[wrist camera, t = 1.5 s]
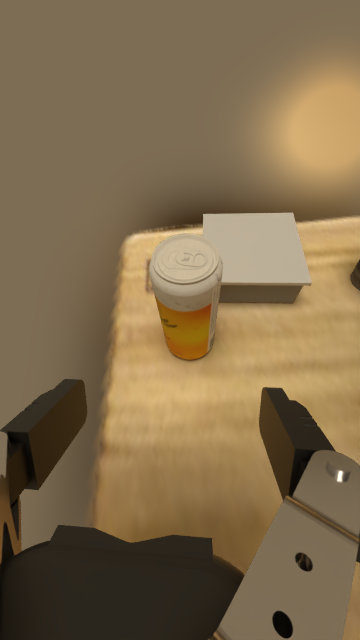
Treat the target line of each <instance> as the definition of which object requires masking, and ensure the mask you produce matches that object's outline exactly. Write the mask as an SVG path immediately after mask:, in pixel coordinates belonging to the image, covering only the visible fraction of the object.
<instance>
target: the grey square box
mask: <svg viewBox="0 0 360 640" xmlns="http://www.w3.org/2000/svg"><path fill="white" fill-rule="evenodd" d="M203 217H204V218H203V237H205V238H207V239H209V240H210V241H211V242H213V244H214V245H215V246H216V248H217V249H218V252H219V255H220V257H221V259H222V263H223V273H222V281H221V288H220V296H219V302H246V303H293V302H294V300H295V299H296V297H297V295H298V293H299V292H300V290H301V288H302V287H303V286H310V285H311V283H312V282H311V278H310V274H309V271H308V267H307V263H306V260H305V256H304V252H303V248H302V245H301V241H300V237H299V234H298V230H297V226H296V222H295V219H294V216H293V213H260V214H259V213H258V214H257V213H255V214H253V213H252V214H204V215H203Z"/></svg>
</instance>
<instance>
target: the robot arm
mask: <svg viewBox="0 0 360 640" xmlns="http://www.w3.org/2000/svg"><path fill="white" fill-rule="evenodd" d="M86 417H87V404H86V395H85V386H84V382H83V381H82V380H75V379H65V380H63V381H62V382H61V383H60V384H59V385H57V386H56V388H54V389H53V390H50V391H48V392H46V393H44V394H42V395H40V396H39V397H38V398H37V399H36V400H34V401H33V402H32V404H31V405H29V406H28V407H27V408H25V410H24V411H22V412H21V413H20V414H19V415H17V416H16V417H15V418H14V419H13V420H12V421H10V422H9V423H8V424H7V425H6V426H5V427H3V428H2V429H1V430H0V640H342V639H343V633H344V627H345V621H346V615H347V610H348V604H349V598H350V592H351V587H352V581H353V575H354V569H355V563H356V561H357V562H359V563H360V465H359V464H358V463H356V462H355V461H354V460H352V459H351V458H349V457H347V456H345V455H343V454H341V453H338V452H336V451H335V449H334V448H333V446H332V445H331V444H330V442H329V441H328V439H327V438H326V436H325V435H324V433H323V432H322V431H321V429H320V428H319V426H317V423H316V422H315V420H314V419H312V416H311V415H310V413H309V412H308V410H307V409H306V408H305V407H304V406H302V405H301V404H300V403H298V402H297V401H294V400H289V399H288V397H287V395H286V394H285V392H284V391H283V389H282V388H267V387H264V388H263V389H262V395H261V406H260V417H259V427H260V433H261V436H262V439H263V442H264V445H265V448H266V451H267V454H268V457H269V460H270V463H271V466H272V469H273V472H274V475H275V478H276V481H277V484H278V487H279V490H280V493H281V495H282V498H283V502H282V504H281V506H280V508H279V510H278V512H277V514H276V516H275V518H274V520H273V522H272V524H271V526H270V528H269V529H268V531H267V533H266V535H265V537H264V539H263V541H262V543H261V545H260V547H259V549H258V551H257V553H256V555H255V557H254V559H253V561H252V563H251V565H250V567H249V569H248V571H247V572H246V574H245V575H244V574H243V573H242V572H241V571H240V570H238V569H237V568H236V567H234V566H233V565H232V564H230V563H229V562H227V561H226V560H224V559H222V558H220V557H218V556H216V555H213V553H212V538H202V537H190V536H179V535H170V536H165V537H160V538H155V539H150V540H145V541H140V542H135V543H129V542H126V541H123V540H121V539H119V538H116V537H114V536H112V535H109V534H107V533H105V532H102V531H100V530H98V529H96V528H87V527H75V526H64V525H58V527H57V528H56V531H55V532H54V534H53V536H52V538H51V540H50V541H46V542H43V543H40V544H37V545H34V546H32V547H30V548H28V549H25V550H24V551H22V543H21V501H20V496H19V495H20V494H21V493H22V491H23V490H24V489H33V490H39V488H40V487H41V486H42V484H43V483H44V481H45V480H46V478H47V477H48V475H49V474H50V473H51V471H52V470H53V468H54V467H55V465H56V464H57V462H58V461H59V459H60V458H61V457H62V455H63V453H64V452H65V451H66V449H67V448H68V446H69V445H70V444H71V442H72V441H73V439H74V438H75V436H76V435H77V434H78V432H79V431H80V429H81V428H82V426H83V425H84V423H85V421H86Z"/></svg>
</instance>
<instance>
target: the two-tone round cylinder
mask: <svg viewBox="0 0 360 640" xmlns="http://www.w3.org/2000/svg"><path fill="white" fill-rule="evenodd" d="M222 273H223V263H222V259H221V257H220V255H219V252H218V249H217V248H216V246H215V245H214V244H213V242H211V241H210V240H209V239H207V238H205V237H203V236H201V235H197V234H191V233H184V234H177V235H173V236H171V237H168V238H166V239H165V240H163V241H162V242H160V243H159V244H158V245H157V247H156V248H155V249H154V252H153V254H152V259H151V262H150V265H149V274H150V278H151V282H152V286H153V290H154V294H155V298H156V302H157V306H158V310H159V314H160V318H161V322H162V326H163V330H164V334H165V338H166V342H167V346H168V348H169V349H170V351H171V352H172V353H173V354H174V355H176V356H178V357H180V358H183V359H197V358H200V357H202V356H204V355H205V354H206V353H207V352H208V351H209V350H210V349H211V347H212V345H213V341H214V334H215V326H216V318H217V311H218V303H219V296H220V288H221V281H222Z"/></svg>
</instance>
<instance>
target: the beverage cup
mask: <svg viewBox="0 0 360 640" xmlns="http://www.w3.org/2000/svg"><path fill="white" fill-rule="evenodd" d="M350 277H351V282H352V284H353V285H354V286H355V287H356V288H358V289H359V290H360V260H359V262H358V263H357V265H356V267H355V269H354V271H353V272H352V274H351V276H350Z"/></svg>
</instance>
